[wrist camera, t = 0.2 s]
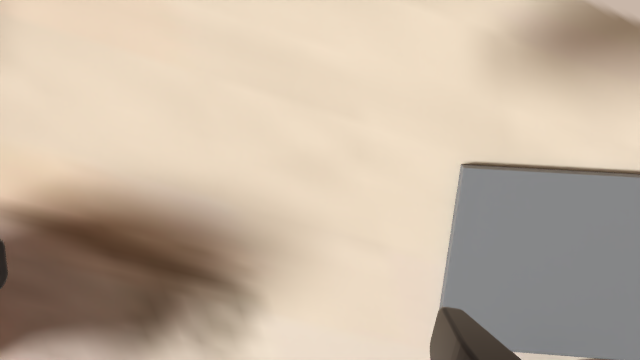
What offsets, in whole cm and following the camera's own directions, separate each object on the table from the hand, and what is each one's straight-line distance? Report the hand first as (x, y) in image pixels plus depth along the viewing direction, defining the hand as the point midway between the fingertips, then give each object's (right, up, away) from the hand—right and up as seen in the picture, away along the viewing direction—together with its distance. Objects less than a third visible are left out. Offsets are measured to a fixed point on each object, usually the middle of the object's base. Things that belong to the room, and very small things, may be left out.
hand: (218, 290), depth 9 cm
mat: (+17, -3, +15) cm, 23 cm away
